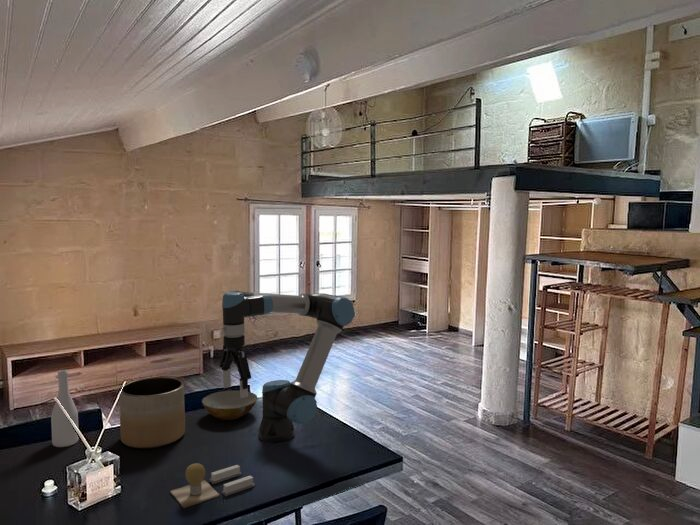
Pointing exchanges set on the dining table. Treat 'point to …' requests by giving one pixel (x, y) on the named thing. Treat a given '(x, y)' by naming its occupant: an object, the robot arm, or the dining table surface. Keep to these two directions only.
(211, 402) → the bowl
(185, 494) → the square wooden board
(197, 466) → the light bulb
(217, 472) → the socket rails
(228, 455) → the dining table surface
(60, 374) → the wine bottle
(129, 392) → the planter
